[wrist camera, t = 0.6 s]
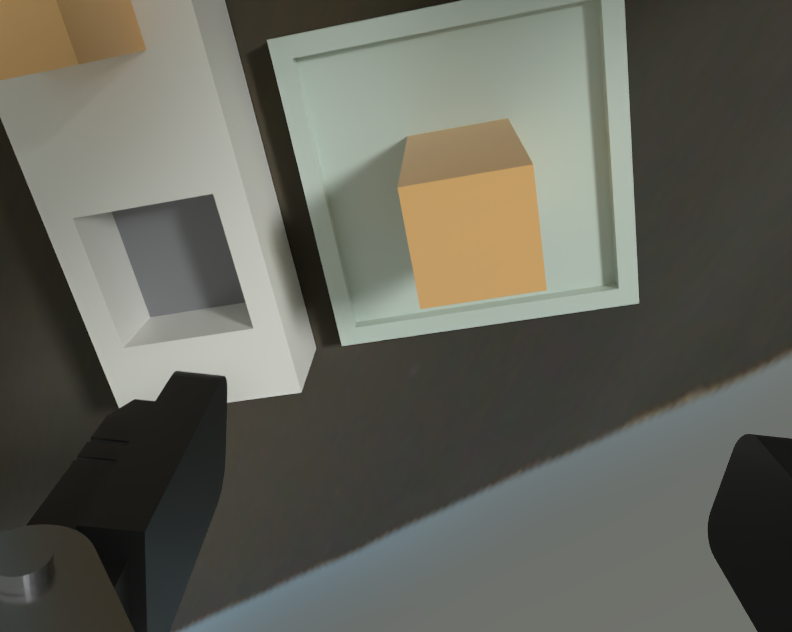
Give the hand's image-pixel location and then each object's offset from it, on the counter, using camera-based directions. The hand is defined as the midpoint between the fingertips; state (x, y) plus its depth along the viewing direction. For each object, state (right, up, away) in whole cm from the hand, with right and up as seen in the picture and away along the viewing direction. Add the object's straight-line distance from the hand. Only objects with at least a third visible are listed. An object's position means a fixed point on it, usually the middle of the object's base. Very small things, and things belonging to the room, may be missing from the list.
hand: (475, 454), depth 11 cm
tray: (+2, +8, +18) cm, 20 cm away
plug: (+2, +8, +18) cm, 19 cm away
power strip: (-15, +9, +19) cm, 26 cm away
